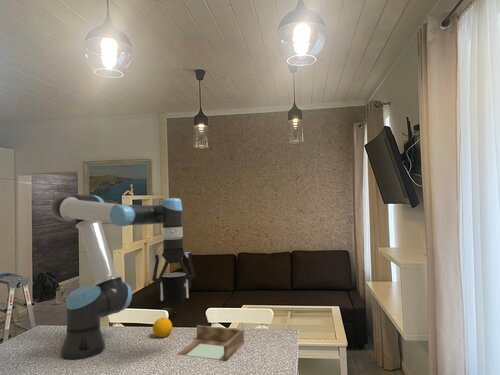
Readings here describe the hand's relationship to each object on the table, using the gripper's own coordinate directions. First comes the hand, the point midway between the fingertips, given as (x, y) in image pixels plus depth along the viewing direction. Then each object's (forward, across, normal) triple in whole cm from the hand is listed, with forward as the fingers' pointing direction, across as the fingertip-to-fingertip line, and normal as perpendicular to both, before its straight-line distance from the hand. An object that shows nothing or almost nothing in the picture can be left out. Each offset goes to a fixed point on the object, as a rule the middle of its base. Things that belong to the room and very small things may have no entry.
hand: (174, 298), depth 132 cm
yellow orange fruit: (+19, -6, +20) cm, 28 cm away
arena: (+20, +13, -3) cm, 24 cm away
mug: (+1, 0, 0) cm, 1 cm away
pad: (+19, +12, -6) cm, 23 cm away
